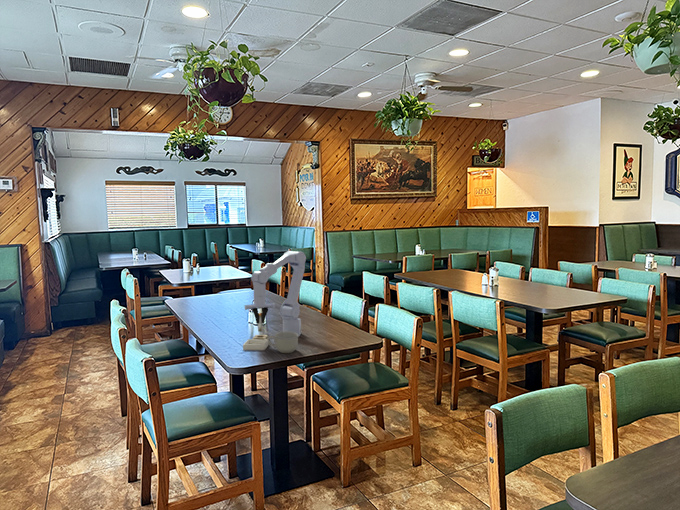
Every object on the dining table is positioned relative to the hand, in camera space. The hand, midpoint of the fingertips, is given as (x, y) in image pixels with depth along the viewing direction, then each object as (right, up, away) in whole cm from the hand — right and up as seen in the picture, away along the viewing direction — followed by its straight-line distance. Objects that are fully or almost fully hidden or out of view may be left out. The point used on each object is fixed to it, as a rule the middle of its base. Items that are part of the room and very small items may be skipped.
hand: (260, 323), depth 229 cm
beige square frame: (0, -10, +1) cm, 10 cm away
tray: (-1, -10, -8) cm, 13 cm away
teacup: (+13, -11, -15) cm, 22 cm away
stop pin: (0, -4, 0) cm, 4 cm away
